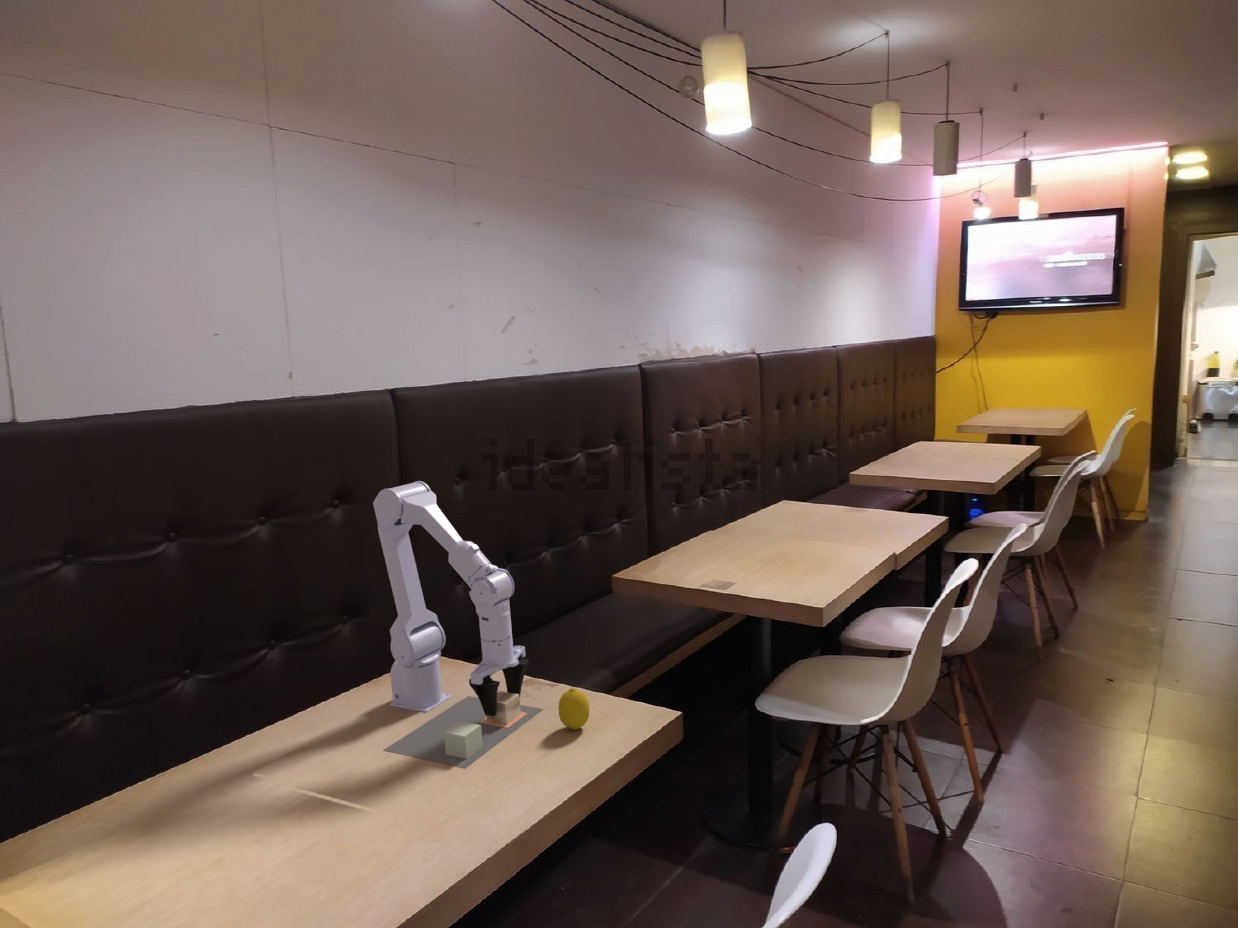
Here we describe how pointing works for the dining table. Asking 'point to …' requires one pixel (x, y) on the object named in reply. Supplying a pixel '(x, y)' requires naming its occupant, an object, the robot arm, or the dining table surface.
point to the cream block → (506, 708)
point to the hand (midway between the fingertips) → (502, 706)
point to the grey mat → (430, 735)
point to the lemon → (573, 709)
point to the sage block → (463, 739)
